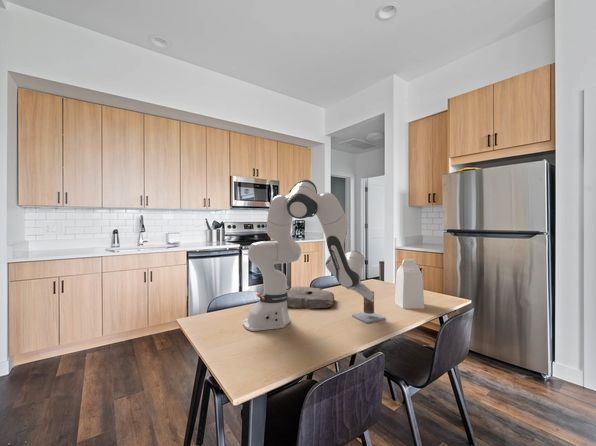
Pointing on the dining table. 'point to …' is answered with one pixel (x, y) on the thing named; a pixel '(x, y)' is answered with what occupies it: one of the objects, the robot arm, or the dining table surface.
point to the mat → (368, 317)
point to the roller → (368, 306)
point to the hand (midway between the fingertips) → (369, 299)
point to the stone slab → (309, 298)
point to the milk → (409, 286)
